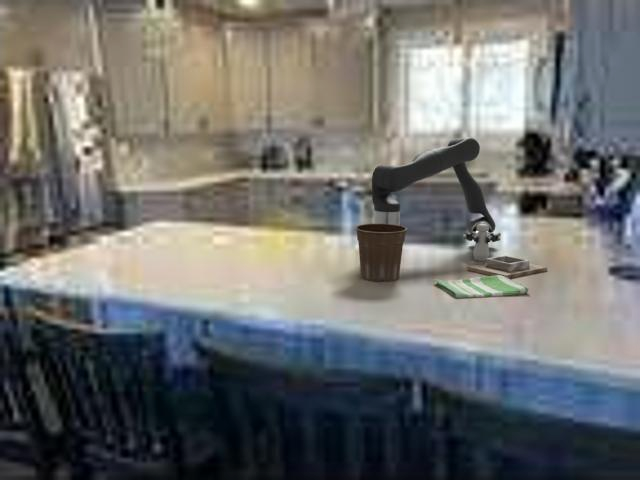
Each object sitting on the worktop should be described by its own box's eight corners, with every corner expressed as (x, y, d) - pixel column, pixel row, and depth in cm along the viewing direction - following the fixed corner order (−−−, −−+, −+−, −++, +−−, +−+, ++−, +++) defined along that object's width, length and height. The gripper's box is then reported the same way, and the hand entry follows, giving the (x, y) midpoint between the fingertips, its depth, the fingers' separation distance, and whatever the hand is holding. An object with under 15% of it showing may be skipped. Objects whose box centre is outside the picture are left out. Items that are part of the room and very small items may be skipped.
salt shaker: (489, 262, 249) (491, 226, 247) (472, 261, 250) (474, 225, 248) (488, 259, 255) (490, 223, 253) (472, 258, 256) (474, 222, 254)
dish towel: (432, 285, 216) (432, 276, 216) (502, 282, 221) (503, 274, 221) (456, 300, 199) (456, 290, 199) (531, 296, 204) (532, 287, 204)
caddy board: (505, 279, 224) (506, 267, 223) (466, 270, 236) (467, 259, 235) (547, 270, 237) (547, 259, 236) (508, 262, 249) (508, 252, 249)
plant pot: (391, 286, 212) (392, 233, 209) (344, 279, 220) (345, 228, 217) (413, 276, 226) (415, 226, 223) (369, 270, 234) (370, 222, 231)
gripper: (463, 221, 266) (462, 228, 249) (501, 223, 263) (503, 230, 246) (462, 241, 267) (461, 249, 250) (500, 243, 264) (502, 251, 248)
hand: (482, 240), depth 248 cm, fingers closed on salt shaker, 3 cm apart
